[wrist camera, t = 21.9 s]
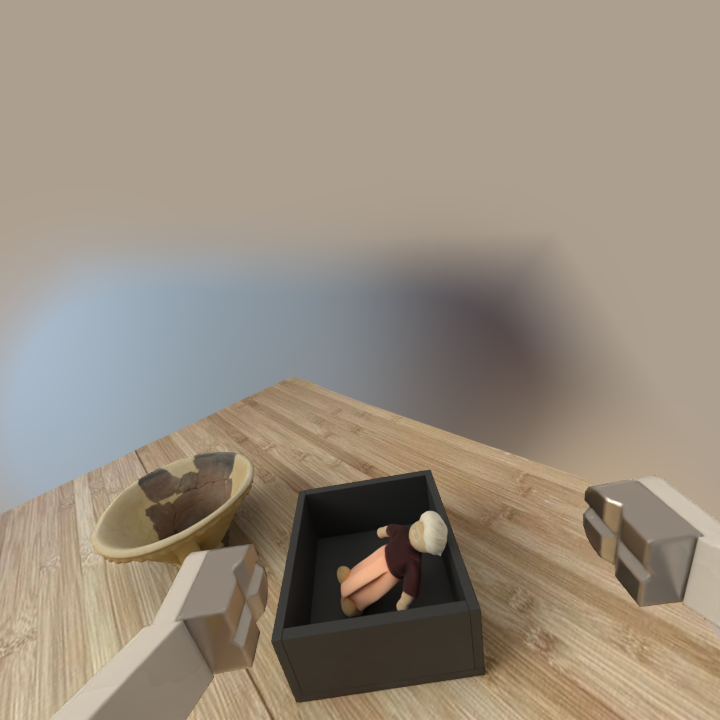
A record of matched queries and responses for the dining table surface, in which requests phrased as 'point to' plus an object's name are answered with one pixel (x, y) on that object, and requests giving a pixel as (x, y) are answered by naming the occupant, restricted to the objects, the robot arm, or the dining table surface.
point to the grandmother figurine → (392, 564)
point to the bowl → (175, 510)
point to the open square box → (381, 619)
